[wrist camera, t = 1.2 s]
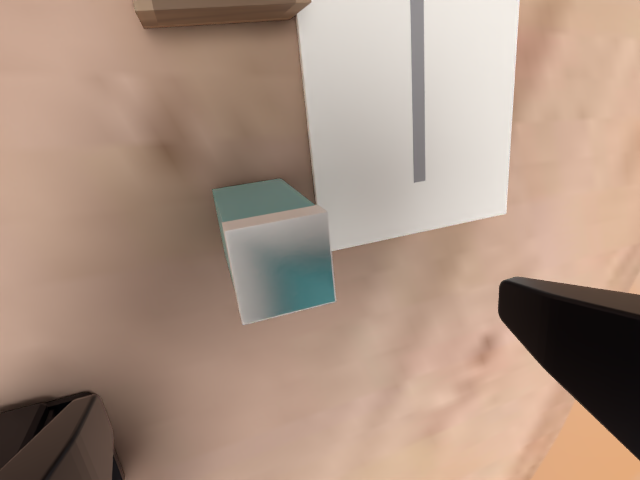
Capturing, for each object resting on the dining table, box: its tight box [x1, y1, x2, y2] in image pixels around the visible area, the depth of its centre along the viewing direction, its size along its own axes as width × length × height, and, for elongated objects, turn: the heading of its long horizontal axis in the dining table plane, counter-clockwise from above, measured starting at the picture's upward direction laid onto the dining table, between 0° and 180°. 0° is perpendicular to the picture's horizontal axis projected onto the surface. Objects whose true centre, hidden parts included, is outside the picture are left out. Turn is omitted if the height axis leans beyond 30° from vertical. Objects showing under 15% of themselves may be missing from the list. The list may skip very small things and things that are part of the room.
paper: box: [295, 0, 520, 251], centre depth 21 cm, size 16×12×1 cm
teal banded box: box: [212, 178, 337, 325], centre depth 17 cm, size 3×3×8 cm
